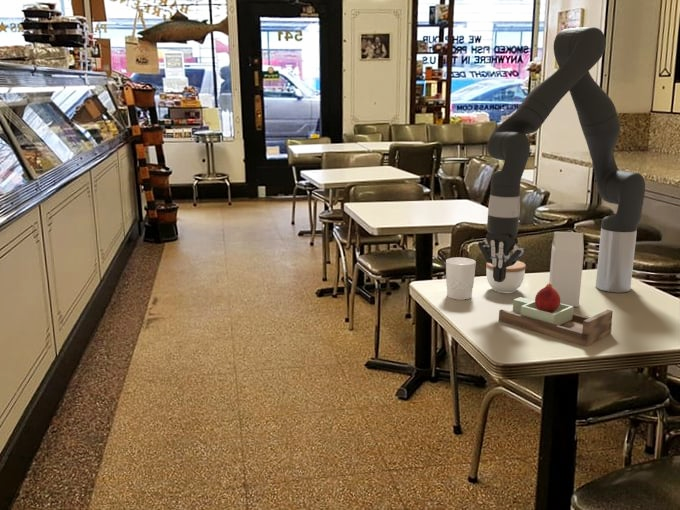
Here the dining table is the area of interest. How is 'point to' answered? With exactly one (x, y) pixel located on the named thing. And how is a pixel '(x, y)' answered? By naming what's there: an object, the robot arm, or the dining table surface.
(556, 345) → the dining table surface
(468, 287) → the white cup
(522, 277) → the lidded jar
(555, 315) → the sled
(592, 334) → the rail
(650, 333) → the dining table surface
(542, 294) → the onion
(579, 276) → the milk carton
